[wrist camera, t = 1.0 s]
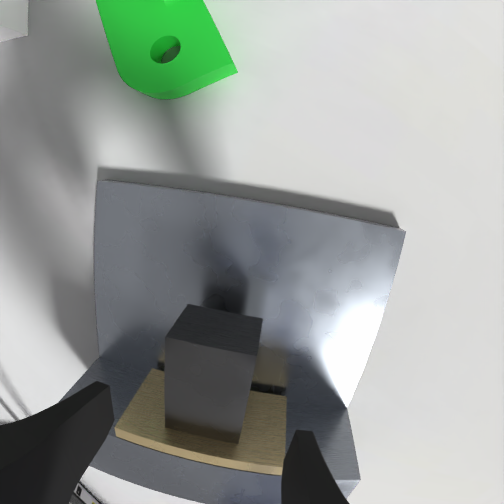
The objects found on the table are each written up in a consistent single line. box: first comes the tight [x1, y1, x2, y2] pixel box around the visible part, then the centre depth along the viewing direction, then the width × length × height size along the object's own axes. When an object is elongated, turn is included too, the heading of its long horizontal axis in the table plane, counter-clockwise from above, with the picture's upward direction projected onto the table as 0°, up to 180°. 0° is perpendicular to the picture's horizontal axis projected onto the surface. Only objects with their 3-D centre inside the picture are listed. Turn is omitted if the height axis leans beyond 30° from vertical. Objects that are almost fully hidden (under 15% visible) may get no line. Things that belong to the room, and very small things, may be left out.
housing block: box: [58, 180, 406, 504], centre depth 16 cm, size 18×18×8 cm
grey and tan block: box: [114, 304, 287, 475], centre depth 16 cm, size 11×9×6 cm
